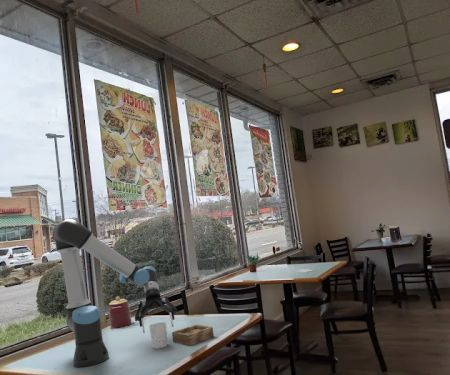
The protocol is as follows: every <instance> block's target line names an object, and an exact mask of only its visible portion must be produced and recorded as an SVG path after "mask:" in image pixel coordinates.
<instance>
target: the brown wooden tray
mask: <svg viewBox="0 0 450 375" xmlns="http://www.w3.org/2000/svg"><path fill="white" fill-rule="evenodd" d="M171 333H172V342H173V343H175V344H176V343H177V344H180V345H185V346H193V345H196V344H198V343H201V342H204V341H207V340H209V339H212V338H214V337H215V335H214V328H213V326H208V325H202V324H194V325H191V326H187V327H183V328H181V329H178V330H174V331H172V332H171Z"/></svg>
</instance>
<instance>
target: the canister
mask: <svg viewBox="0 0 450 375" xmlns="http://www.w3.org/2000/svg"><path fill="white" fill-rule="evenodd" d="M108 305H109V306H108V307H107V308H108V315H109V317H108V318H109V326H110V328H111V329H118V328H123V327H128V326H130V325H131V324H132V317H131V309H130V303H129V300H128V299H125V298H121V297H120V296H116V297H115V299H114V300H111V301H110V302H109V303H108Z"/></svg>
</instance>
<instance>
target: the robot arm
mask: <svg viewBox="0 0 450 375" xmlns="http://www.w3.org/2000/svg"><path fill="white" fill-rule="evenodd" d="M52 238H53V240H54V242H55V249H56V252H58V253H59V254H60V259H61V264H62V271H63V276H64V282H65V289H66V295H67V302H68V304H67V305H66V307H65V310H66V326H67V327H68V329H69V330H70V331H72V332H73V333H74V342H75V349H74V354H73V360H72V363H73V364H72V365H73V367H75V368H83V367H90V366H91V367H92V366H94V365H97V364H100V363H103V362H105V361H106V360H107V359H109V356H110V355H109V351H108V348H107V346H106V344H105V342H104V340H103V331H102V329H103V328H102V323H101V312H100V309H99V307H98V306H95V305H92V300H89V298H88V296H87V291H86V290H87V289H86V284H85V277H84V271H83V265H82V259H81V253H80V250H83V251H86V252H87V253H88V254H90V255H91V256H93V257H95V258H96V259H97V260H99V261H100V262H101V263H104V265H107V266H108V267H109V268H111V269H113V270H114V271H116V272H117V273H119V282H120V283H122V284H128V285H129V284H130V285H138V286H143V290H144V297H145V298H144V299H145V301H142V300H140V301H139V306H138V308H137V311H136V313H135V315H134V321H135V322H138V323H139V327H140V328H141V327H142V333H143V334H145V333H146V331H145V324H144V318H145V316H146V315H147V314H148V312H149V311H150V310H154V309H162V310H163V311H164V312H166V313H168V314H169V320H170V324H171V327H172V328H173V327H174V320H175V314H177V313H178V311H177V308H176V307H175V305H174V304H173V303H172V302H171V301H170V300H169V298H168V296H164V297H163V298H162V297H161V292H160V291H161V290H160V286H159V282H158V281H159V280H158V274H157V271H156V268H155V267H154V266H152V265H148V266H145V267H143V268H141V267H140V266H139V265H136V264H135V263H133V262H132V261H131V260H129V259H128V258H126V257H125V256H124V255H122V254H121V253H120V252H118V251H116V250H115V249H113V248H112V247H110V246H109V245H107V244H106V243H105V242H103V241H102V240H100V239H99V238H97V237H96V236H94V233H93V231H91V230H90V229H88V227H86V226H85V225H83V224H82V223H81V222H79V221H78V220H75V219H72V218H71V219H65V220H63V221H60V222H59V223H57V224H56V226H54V228H53V230H52ZM164 303H165V304H164ZM144 307H145V308H144ZM143 308H144V310H143Z"/></svg>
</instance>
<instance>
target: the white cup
mask: <svg viewBox="0 0 450 375" xmlns="http://www.w3.org/2000/svg"><path fill="white" fill-rule="evenodd" d="M148 328H149V333H150V334H149V335H150V338H151V343H152V349H156V350H158V349H162V348H163V349H164V348H165V347H167V346H168V330H167V323H166V322H164V321H163V322H162V321H161V322H160V321H159V322H155V323H152V324H150V325H149V326H148Z"/></svg>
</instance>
